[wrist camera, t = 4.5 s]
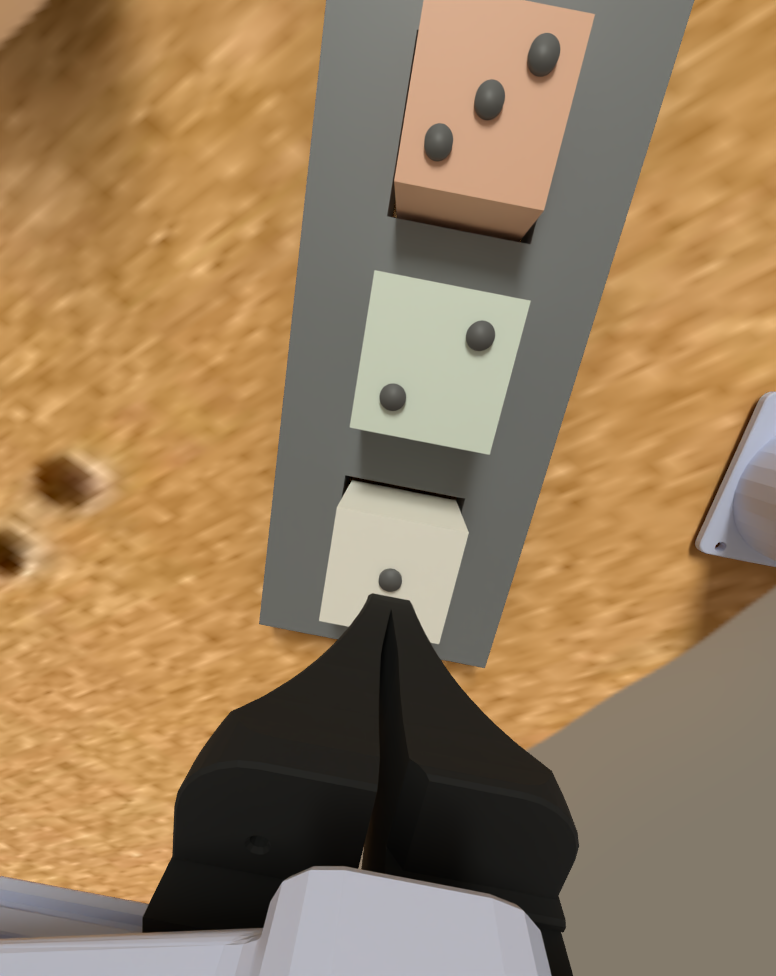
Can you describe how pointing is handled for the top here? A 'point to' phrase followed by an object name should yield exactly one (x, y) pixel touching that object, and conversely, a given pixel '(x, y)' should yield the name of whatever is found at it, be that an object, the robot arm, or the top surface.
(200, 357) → the top surface
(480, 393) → the key two
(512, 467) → the keypad board
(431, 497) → the key one
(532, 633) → the top surface
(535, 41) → the key three
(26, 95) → the top surface
